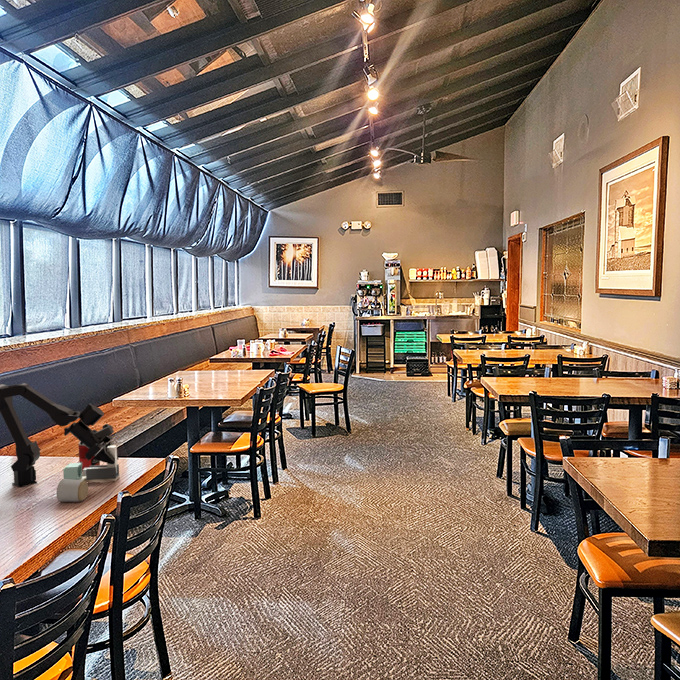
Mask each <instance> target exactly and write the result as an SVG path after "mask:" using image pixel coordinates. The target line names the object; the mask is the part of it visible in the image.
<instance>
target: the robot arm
mask: <svg viewBox="0 0 680 680" xmlns="http://www.w3.org/2000/svg"><path fill="white" fill-rule="evenodd" d="M16 396H21V397H22V398H23V399H25V400H26V401H28V402H30V403H31V404H33V405H34V406H35V407H37V408H39V409H40V410H42V411H44V412H45V413H46V414H47V415H48V416H49V418H50V420H52V421H53V422H54V423H55V424H56V425H58V426H59V427H64V428H63V430H64V432H63V436H67V435H69V434H71V435H72V436H74V437H75V438H76V439H77V440H78V441H79V442H80V444H81V445H82V444H84V445H85V446H86V447H88V448H89V450H88V452H87V453H86V454H85V458H86V459H87V460H90V459H91V458H92V457H93V456H95V457H94V458H93V460H98V461H100V462H102V463H106V464H107V463H109V464H114V463H115V462H114V460H113V459H112V458H111V457H110V456H109V455H108V453H107V447H108V446H112V442H113V440H112V439H113V436H111V435H113V433H115V431H114V429H113V428H114V426H112V425H111V424H108V423H105V424H103V425H102V428H101V429H99V430H96V429H92V428H90V427H94V426H95V425H96V424H97V422H98V421H100V420H101V419H102V417H104V415H105V413H104V411H103V410H102V409H101V408H100V407H98V406H96V405H93V404H92V403H89V404H87V406H86V407H85V408H84V409H83V410H82V412H81V411H74V410H73V409H71V408H69V407H67V406H64V405H61V404H58V403H55V401H53V400H51V399H49V398H48V397H46V396H45V395H44V394H42V393H40V392H39V391H38V390H36V389H35V388H33V387H32V386H31V385H29V384H28V383H25V382H23V383H21V384H20V383H19V384H12V385H7V384H4V383H3V384H0V414H1V417H2V419H3V420H4V423H5V426H6V427H7V430H8V431H9V434H10V436H11V439H12V440H13V442H14V445H15V455H16V458H17V459H16V461H15V462H14V463H12V465H10V468H11V470H12V471H13V482H12V484H11V485H13V486H16V487H18V488H23V487H27V486H31V485H34V484H38V481H37V469H35V464H36V462H37V461H39V459H40V457H41V450H42V449H41V448H40V447H39V445H38V442H37V441H36V440H35V441H32V440H31V439H30V438H29V436H28V434H27V433H26V431H25V428H24V426H23V425H22V422H21V420H20V418H19V416H18V414H17V412H16V409H15V407H14V405H13V404H14V403H13V397H16ZM77 420H78V421H77ZM69 424H70V425H69ZM68 425H69V426H68ZM66 426H68V427H66ZM118 460H119V456H118V455H117V461H118Z"/></svg>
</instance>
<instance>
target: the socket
mask: <svg viewBox="0 0 680 680" xmlns="http://www.w3.org/2000/svg"><path fill="white" fill-rule="evenodd" d="M62 474H63V479H73V480H79V479H80V478H81V477H82V476H83V470H82V463H79V462H70V463H68V464H67V465H66V466H65V467H64V468H63V473H62Z"/></svg>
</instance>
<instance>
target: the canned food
mask: <svg viewBox="0 0 680 680" xmlns="http://www.w3.org/2000/svg"><path fill="white" fill-rule="evenodd" d="M80 442H81V441H79V442H78V463H82V469H84V468H89V466H95V465H101V461H98V460H93V458H94V457H95V456H93V457H92V458H91V459H90V460H87V459H86V458H85V454H86V453H87V452H88V450H89V448H88V447H86V446H85V445H84V444H82V445H81V444H80Z"/></svg>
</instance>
